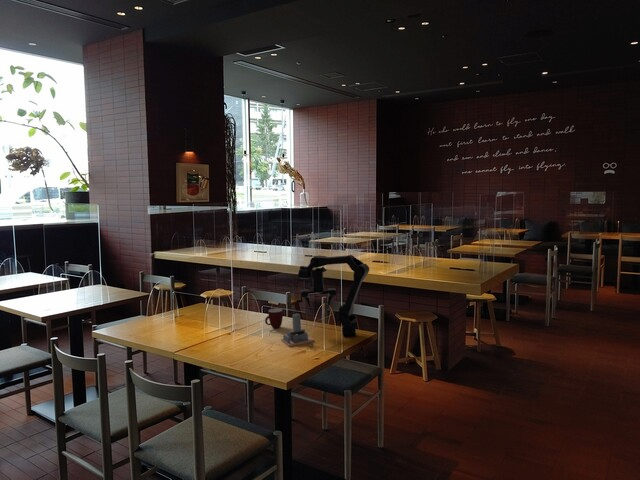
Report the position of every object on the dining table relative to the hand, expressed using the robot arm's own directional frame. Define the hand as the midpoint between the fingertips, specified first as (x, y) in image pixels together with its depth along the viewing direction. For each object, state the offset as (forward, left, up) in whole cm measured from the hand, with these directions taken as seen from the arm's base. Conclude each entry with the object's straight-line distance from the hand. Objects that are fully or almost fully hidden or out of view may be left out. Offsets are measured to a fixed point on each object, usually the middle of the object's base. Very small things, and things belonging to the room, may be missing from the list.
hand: (319, 308), depth 257 cm
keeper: (+12, +13, -13) cm, 22 cm away
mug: (+25, -10, -13) cm, 30 cm away
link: (+12, +13, -12) cm, 21 cm away
